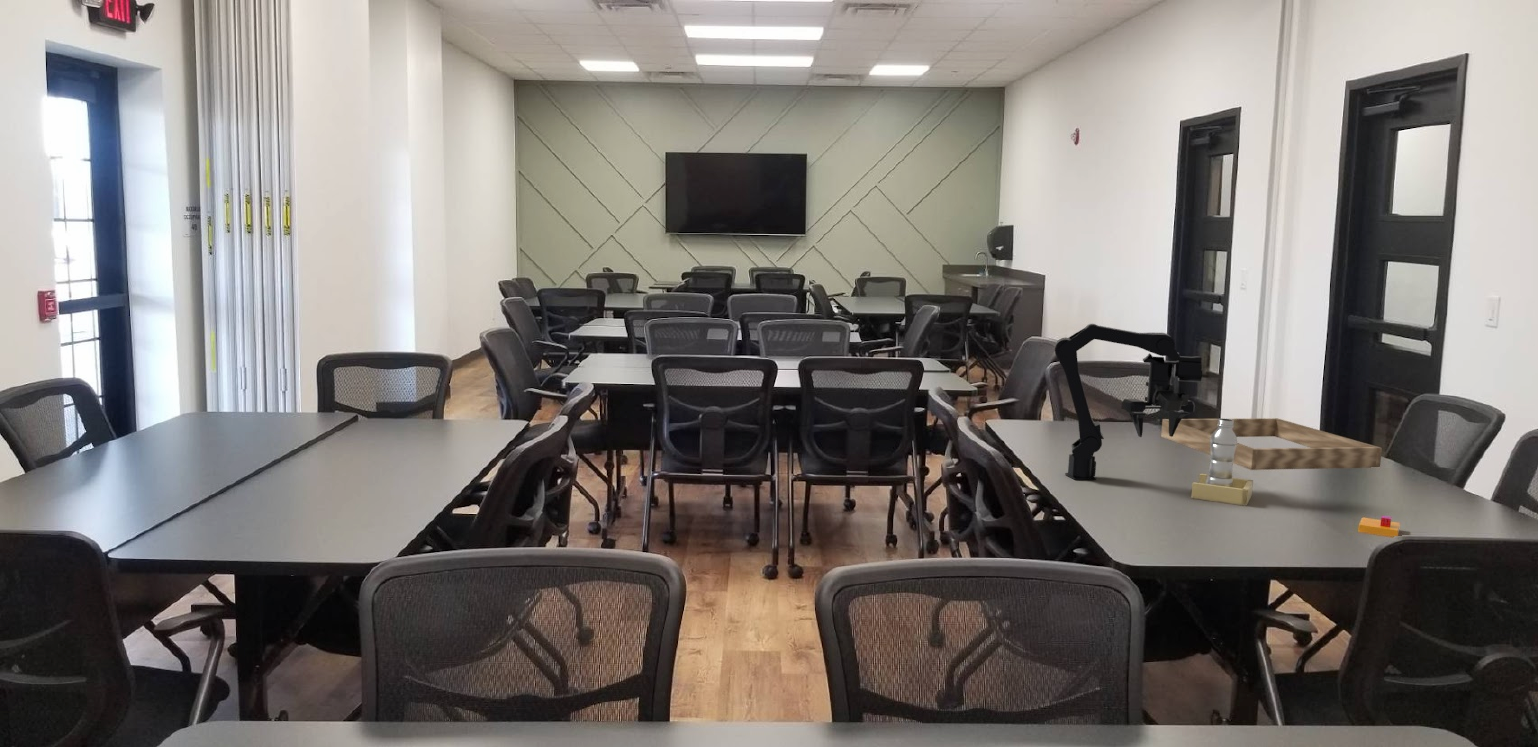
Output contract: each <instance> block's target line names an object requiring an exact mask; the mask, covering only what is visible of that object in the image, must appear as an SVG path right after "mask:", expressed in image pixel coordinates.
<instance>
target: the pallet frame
mask: <svg viewBox="0 0 1538 747" xmlns="http://www.w3.org/2000/svg"><path fill="white" fill-rule="evenodd" d="M1219 419H1220V418H1182V419H1181V421H1180V422H1179V424H1178V426H1177V428H1176V431H1175V433H1174V435H1173V437H1171V436H1169V418H1162V421H1161V434H1160V435H1161V438H1162V439H1166V440H1169V441H1172V442H1174V443H1177V444H1180V445H1183V446H1185V447H1188V448H1191V449H1194V450H1197V451H1198V452H1199V451H1200V452H1201V453H1204V454H1206V455H1210V456H1211V448H1210V438H1211V435H1212V434H1213V433H1214V431H1215V430H1217V429H1218V426H1217V424H1218V420H1219ZM1230 419H1231V420H1234V424H1233V426H1234V427H1233V428H1232V430H1233V432H1234V434H1235V435H1236V437H1237V438H1238V437H1239V438H1241V437H1242V438H1243V437H1244V438H1246V437H1253V438H1254V437H1255V438H1257V437H1262V438H1265V437H1266V438H1267V437H1275V438H1279V439H1283V440H1284V441H1287V442H1292V443H1295V444H1298V445H1301V446H1305V447H1283V448H1281V447H1279V448H1277V447H1275V448H1274V447H1273V448H1271V447H1270V448H1264V447H1263V448H1261V447H1260V448H1254V447H1251V446H1248V445H1245V444H1242V443H1239V442H1237V445H1236V449H1235V453H1234V459H1233V464H1234V465H1236V466H1240V467H1243V468H1245V469H1248V470H1250V471H1253V470H1254V471H1255V470H1256V471H1257V470H1260V471H1261V470H1263V471H1264V470H1268V471H1269V470H1271V471H1272V470H1314V469H1315V470H1317V469H1320V470H1321V469H1369V468H1370V469H1372V468H1371V467H1380V468H1381V460H1382V452H1383V451H1382V450H1383V448H1382V447H1380V446H1377V445H1373V444H1369V443H1366V442H1362V441H1359V440H1357V439H1356V440H1355V439H1352V438H1348V437H1346V436H1341V435H1338V434H1334V433H1331V432H1327V431H1324V430H1320V429H1317V428H1313V427H1309V426H1306V425H1303V424H1298V423H1295V422H1292V421H1288V420H1285V419H1283V418H1282V419H1281V418H1274V417H1273V418H1268V417H1267V418H1265V417H1263V418H1258V417H1257V418H1252V417H1251V418H1250V417H1249V418H1230Z"/></svg>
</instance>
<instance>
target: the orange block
mask: <svg viewBox="0 0 1538 747" xmlns="http://www.w3.org/2000/svg"><path fill="white" fill-rule="evenodd" d="M1392 518H1393V517H1392V516H1385V515H1381V517H1380V519H1376V518H1369V517H1364V516H1363V517H1362V518H1360V521H1359V524H1358V531H1357V532H1358V533H1363V534H1369V535H1376V536H1382V537H1387V538H1388V537H1389V538H1394V537H1393V536H1398V537H1399V534H1400V528H1401V522H1396V521H1392Z"/></svg>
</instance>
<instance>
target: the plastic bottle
mask: <svg viewBox="0 0 1538 747" xmlns="http://www.w3.org/2000/svg"><path fill="white" fill-rule="evenodd" d="M1218 419H1219V420H1218V424H1217V426H1218V429H1217V430H1215V431H1214V433H1213V434H1212V435H1211V438H1210V448H1211V455H1210V460H1209V461H1210V463H1209V468H1208V469H1209V470H1208V476H1207V480H1206V484H1210V485H1217V486H1225V487H1233V479H1232V478H1233V464H1234V463H1233V459H1234V453H1235V449H1236V445H1237V443H1238V437H1236V435H1235V434H1234V432H1233V430H1232V428H1233V427H1234V426H1233V424H1234V420H1231V419H1232V418H1223V417H1222V418H1218Z"/></svg>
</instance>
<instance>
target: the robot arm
mask: <svg viewBox="0 0 1538 747" xmlns="http://www.w3.org/2000/svg"><path fill="white" fill-rule="evenodd" d="M1093 340H1098V341H1103V342H1109V343H1114V344H1115V343H1116V344H1121V345H1125V346H1131V347H1137V348H1139V349H1143V350H1144V351H1146V352H1149V353H1148V354H1147V356H1146V357H1144V358H1142V361H1143V363H1144V364H1145V363H1146V364H1149V372H1148V373H1149V374H1148V381H1146V382H1145V387H1147V396H1144V400H1141V399H1137V398H1124V399H1123V401H1121V408H1120V409H1121V410H1124V411H1125V413H1128V414H1129V416H1130V418H1131V420H1132V422H1133V425H1134V428H1135V430H1136V433H1137V436H1138V437H1139V438H1142V437H1143V432H1144V430H1143V428H1144V427H1143V426H1144V418H1145V417H1146V414H1147V413H1146V412H1144V411H1145V410H1146V409H1147V410H1148V409H1151V410H1153V409H1155V410H1156V409H1160V410H1163V411H1165V412H1168V419H1169V436H1171V437H1173V435H1174V433H1175V431H1176V428H1177V426H1178V424H1179V422H1180V421H1181V419H1184V417H1185V416H1189V415H1190V414H1191V413H1192V412H1195V407H1196V405H1195V402H1194V401H1193V400H1189V394H1188V393H1187V392H1183V391H1182V392H1181V391H1180V392H1175V387H1174V384H1172V376H1173V377H1174V378H1177V381H1178V382H1188V383H1189V382H1191V383H1201V382H1202V377H1203V368H1202V367H1203V365H1202V357H1201V356H1196V355H1195V356H1183V355H1182V356H1181V354H1180V352H1178V351H1177V350H1176V349H1175V348H1176V344H1175V343H1176V342H1175V340H1174V338H1173V337H1172V336H1171V335H1169V334H1168V333H1166V332H1136V331H1132V330H1125V329H1119V328H1115V327H1110V326H1108V327H1107V326H1103V325H1098V324H1096V323H1089V324H1087V325H1086V326H1085V327H1084V328H1082V329H1080V330H1078V331H1077V332H1075V333H1073V335H1071V336H1069V337H1061V338H1060V339H1058V340H1057V341H1056V343H1055V344H1054V354H1055V356H1056V358H1057V360H1058V362H1059V365H1060V366H1061V367H1062V370H1063V372H1064V375H1065V377H1066V381H1067V384H1068V389H1069V392H1070V395H1071V399H1072V403H1073V407H1074V410H1075V414H1076V418H1077V423H1078V433H1079V434H1078V435H1079V436H1078V439H1077V440H1076V441H1075V442H1073V443H1072V444H1071V446H1070V447H1071V454H1069V455H1068V465H1067V472H1065V473H1064V474H1065V476H1066V477H1069V478H1071V479H1073V480H1077V481H1079V480H1082V481H1083V480H1097V477H1096V470H1097V462H1096V460H1095V459H1096V456H1095V455H1094V454H1095V453H1097V452H1098V451H1099V450H1100V449H1101V448H1102V446H1103V440H1104V438H1105V437H1104V435H1103V434H1104V433H1103V432H1102V431H1101V424H1100V421H1099V420H1097V421H1094V420H1093V416H1091V411H1090V408H1089V405H1088V404H1089V403H1088V400H1087V397H1086V394H1085V390H1084V385H1083V383H1082V379H1081V376H1080V375H1081V374H1080V371H1079V363H1078V362H1079V361H1078V351H1079V350H1081V349H1082V348H1084V347H1085V346H1086V345H1088V344H1089V343H1090V342H1092V341H1093ZM1151 353H1152V354H1155V355H1158V356H1153V355H1152V354H1151ZM1165 357H1168V359H1170V360H1165ZM1173 365H1174V366H1173ZM1172 373H1173V375H1172Z"/></svg>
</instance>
